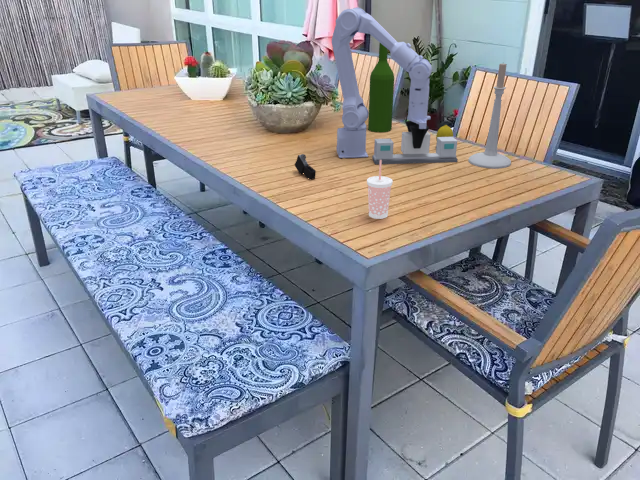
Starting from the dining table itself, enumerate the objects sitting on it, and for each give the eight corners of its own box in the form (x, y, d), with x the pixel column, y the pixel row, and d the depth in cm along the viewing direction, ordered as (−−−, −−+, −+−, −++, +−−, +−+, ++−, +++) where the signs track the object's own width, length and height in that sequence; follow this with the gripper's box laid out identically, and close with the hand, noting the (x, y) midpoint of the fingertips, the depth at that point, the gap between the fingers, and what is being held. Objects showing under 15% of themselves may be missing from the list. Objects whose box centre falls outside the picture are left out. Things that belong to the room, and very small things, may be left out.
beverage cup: (368, 209, 134) (370, 155, 128) (392, 211, 132) (395, 157, 126) (363, 218, 129) (364, 162, 122) (388, 221, 127) (391, 164, 121)
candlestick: (478, 169, 161) (492, 66, 147) (462, 157, 172) (473, 59, 159) (518, 167, 162) (535, 64, 149) (499, 155, 174) (513, 58, 161)
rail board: (375, 164, 166) (376, 143, 163) (372, 158, 171) (372, 138, 168) (457, 161, 167) (459, 141, 165) (451, 156, 173) (453, 136, 170)
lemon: (452, 151, 178) (454, 127, 174) (435, 150, 179) (437, 126, 175) (451, 146, 183) (454, 123, 179) (435, 145, 184) (437, 122, 180)
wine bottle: (396, 130, 203) (401, 39, 188) (378, 133, 198) (382, 40, 184) (381, 125, 209) (385, 37, 195) (363, 128, 205) (366, 38, 191)
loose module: (429, 153, 167) (430, 134, 164) (403, 154, 166) (405, 135, 163) (425, 149, 170) (427, 131, 168) (400, 150, 170) (402, 131, 167)
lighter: (313, 185, 157) (319, 172, 152) (307, 186, 156) (313, 174, 151) (300, 163, 160) (305, 150, 156) (294, 164, 159) (299, 151, 155)
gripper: (438, 107, 155) (434, 152, 161) (425, 97, 168) (422, 139, 174) (414, 107, 155) (410, 153, 161) (403, 97, 168) (400, 140, 173)
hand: (415, 146), depth 167 cm, fingers closed on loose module, 4 cm apart
